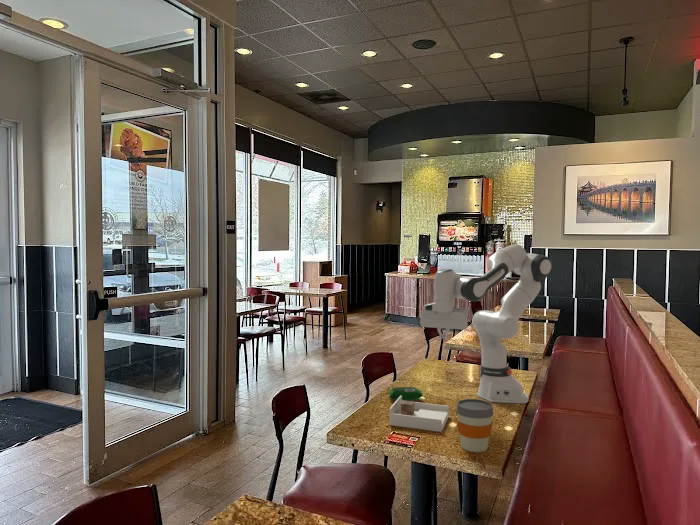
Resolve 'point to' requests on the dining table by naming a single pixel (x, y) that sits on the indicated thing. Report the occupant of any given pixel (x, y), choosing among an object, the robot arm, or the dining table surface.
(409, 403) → the walnut cube
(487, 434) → the reusable coffee cup
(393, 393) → the snack package
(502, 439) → the dining table surface
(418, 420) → the box
